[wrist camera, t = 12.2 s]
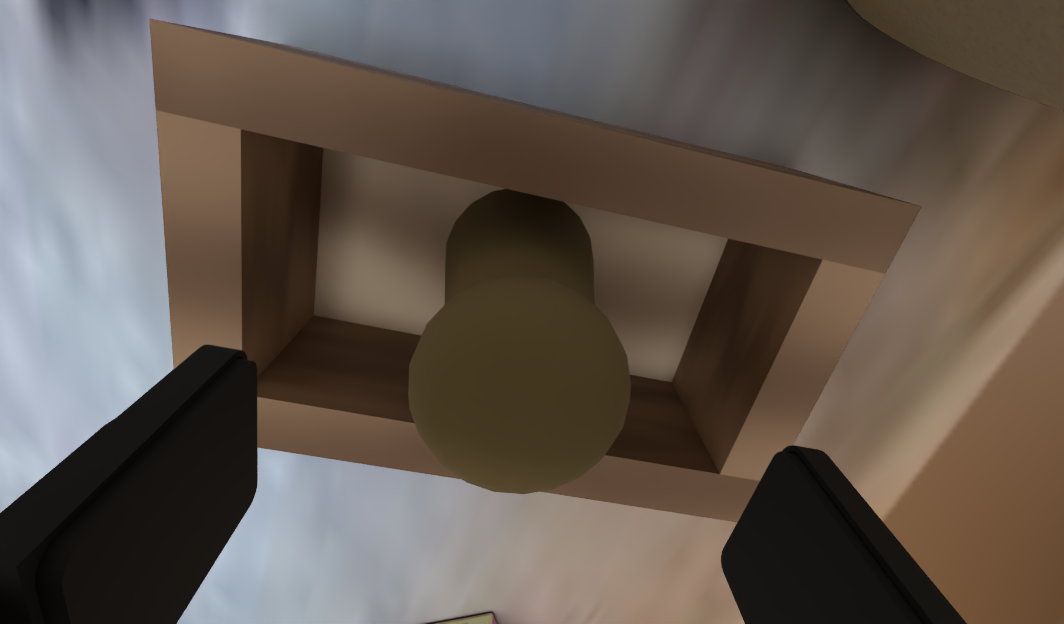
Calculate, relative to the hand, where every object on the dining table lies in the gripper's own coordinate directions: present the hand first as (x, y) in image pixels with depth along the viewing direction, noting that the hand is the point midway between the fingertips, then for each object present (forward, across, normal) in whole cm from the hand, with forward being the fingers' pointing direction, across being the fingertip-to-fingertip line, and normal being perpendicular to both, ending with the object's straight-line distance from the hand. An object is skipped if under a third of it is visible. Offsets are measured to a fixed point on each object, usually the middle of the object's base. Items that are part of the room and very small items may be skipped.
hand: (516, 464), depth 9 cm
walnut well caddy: (+13, 0, +1) cm, 13 cm away
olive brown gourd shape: (+12, 0, 0) cm, 13 cm away
